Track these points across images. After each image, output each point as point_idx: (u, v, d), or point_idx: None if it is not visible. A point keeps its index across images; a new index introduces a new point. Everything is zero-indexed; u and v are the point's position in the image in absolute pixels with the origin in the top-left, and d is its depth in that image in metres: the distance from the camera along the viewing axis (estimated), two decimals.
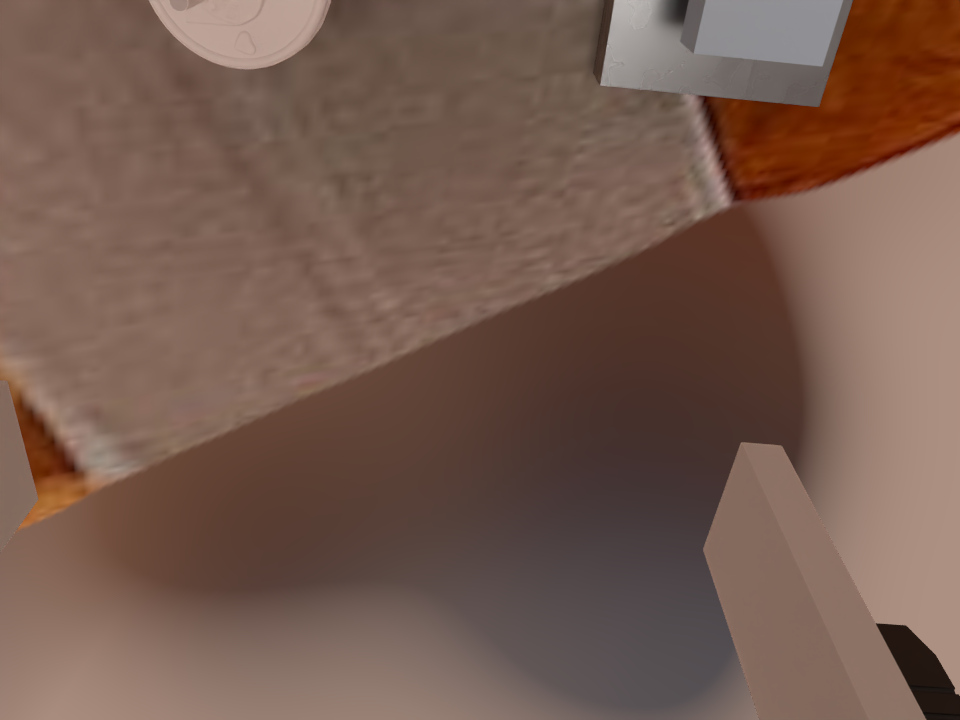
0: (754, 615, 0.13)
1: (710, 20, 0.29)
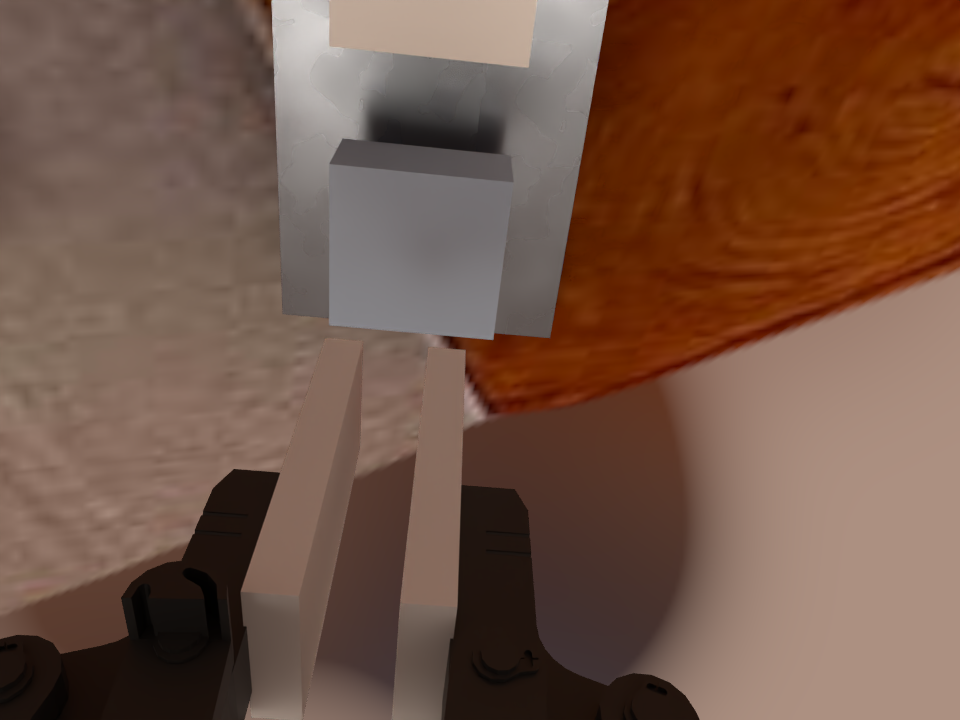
0: None
1: (340, 291, 0.23)
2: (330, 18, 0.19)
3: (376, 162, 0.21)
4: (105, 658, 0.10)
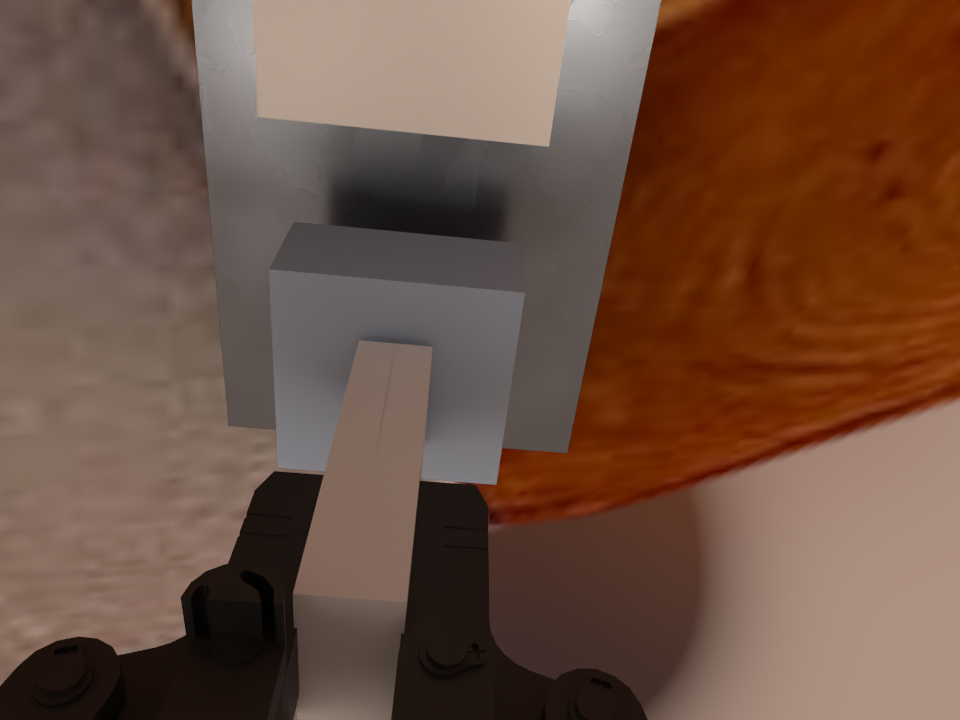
0: None
1: (291, 427, 0.17)
2: (257, 77, 0.13)
3: (335, 263, 0.16)
4: (159, 660, 0.10)
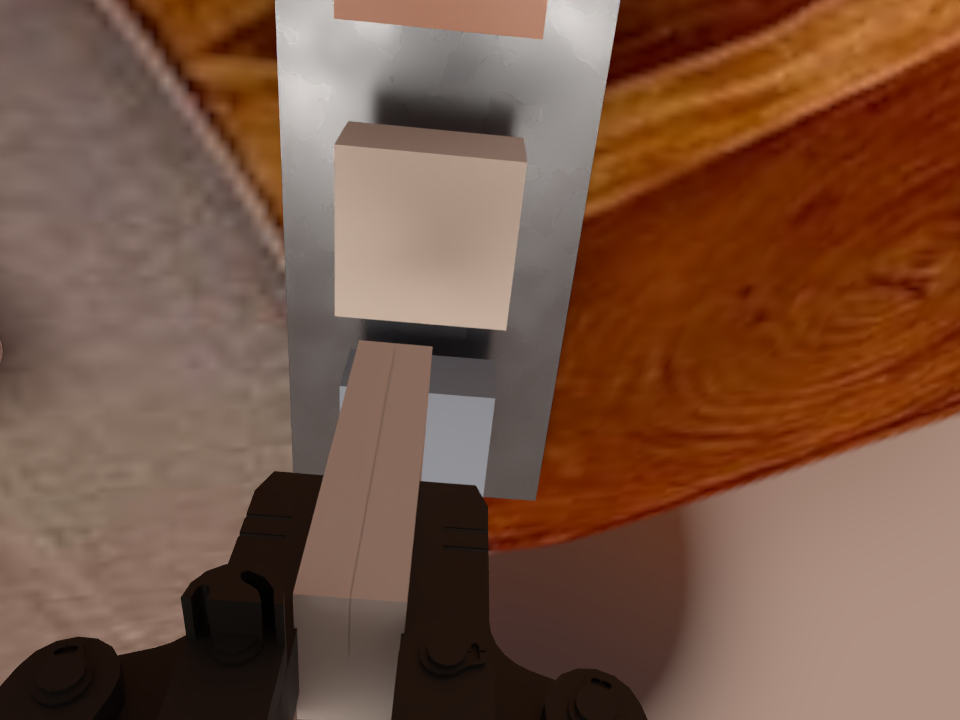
0: None
1: None
2: (335, 296, 0.22)
3: None
4: (159, 660, 0.10)
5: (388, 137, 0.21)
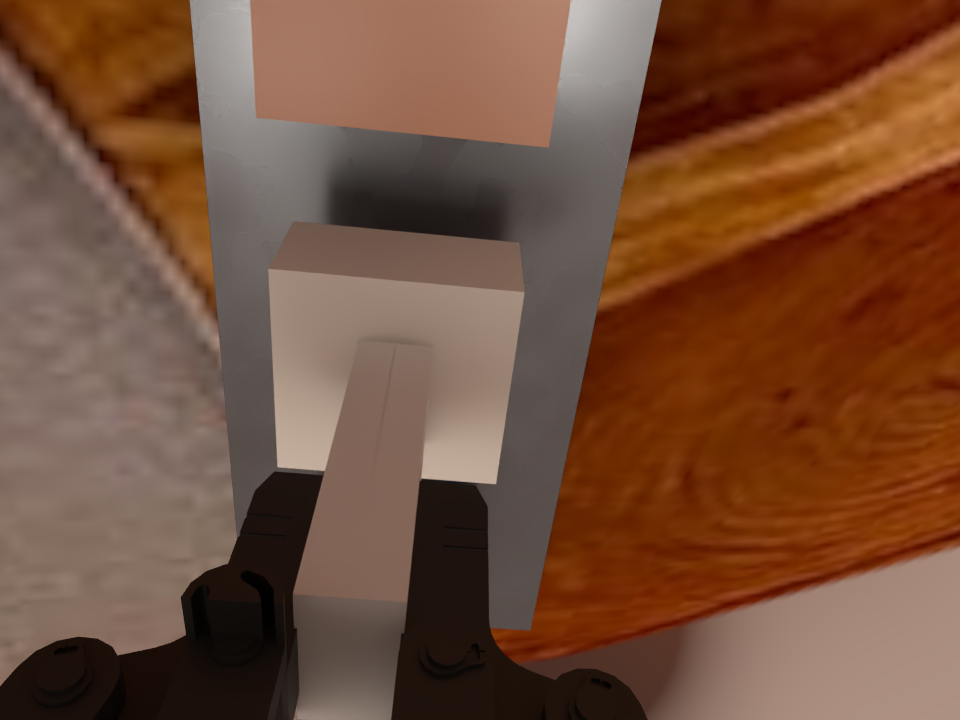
0: None
1: None
2: (277, 445, 0.17)
3: None
4: (159, 660, 0.10)
5: (343, 250, 0.16)
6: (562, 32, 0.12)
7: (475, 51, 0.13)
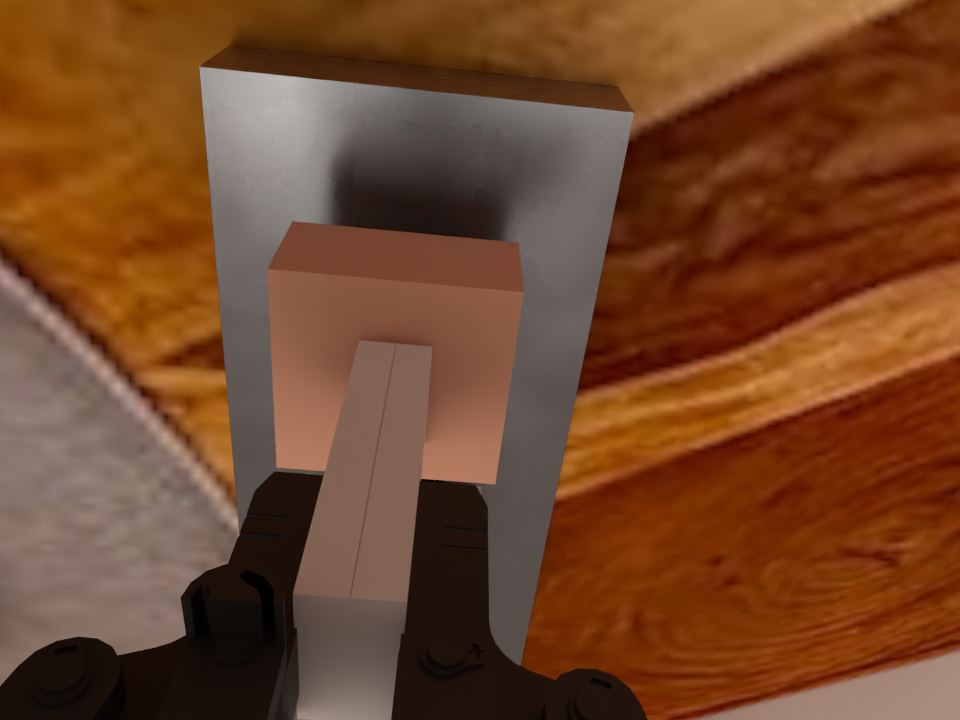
0: None
1: None
2: None
3: None
4: (159, 660, 0.10)
5: None
6: (502, 419, 0.17)
7: (438, 430, 0.17)
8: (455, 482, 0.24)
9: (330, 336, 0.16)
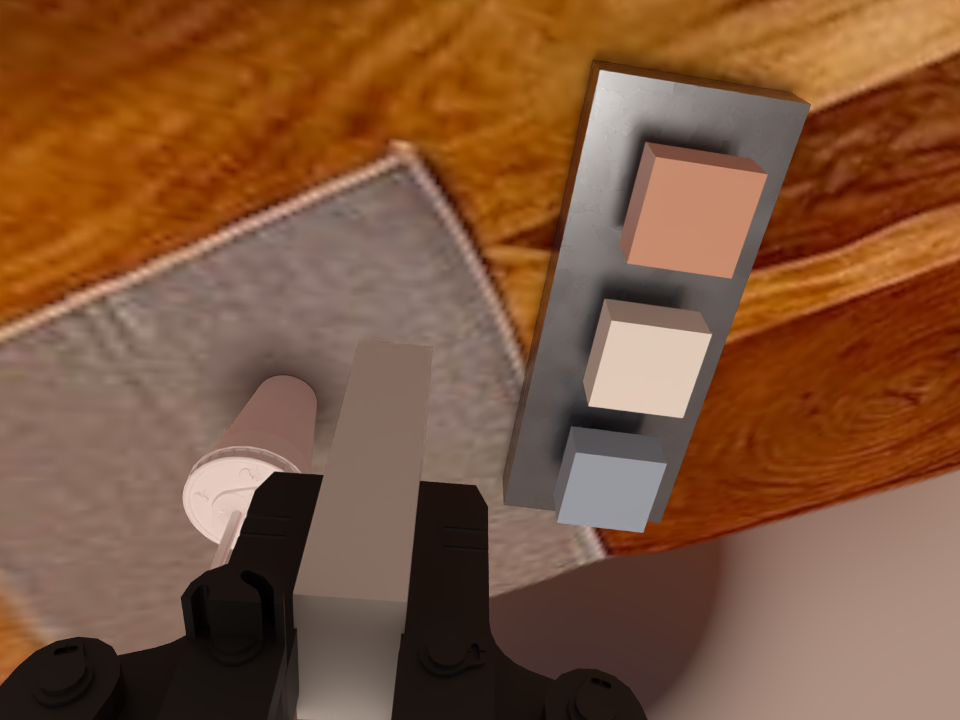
0: None
1: (567, 507, 0.43)
2: (591, 395, 0.40)
3: (596, 449, 0.42)
4: (159, 660, 0.10)
5: (633, 313, 0.38)
6: (743, 241, 0.35)
7: (711, 246, 0.35)
8: None
9: (674, 192, 0.34)
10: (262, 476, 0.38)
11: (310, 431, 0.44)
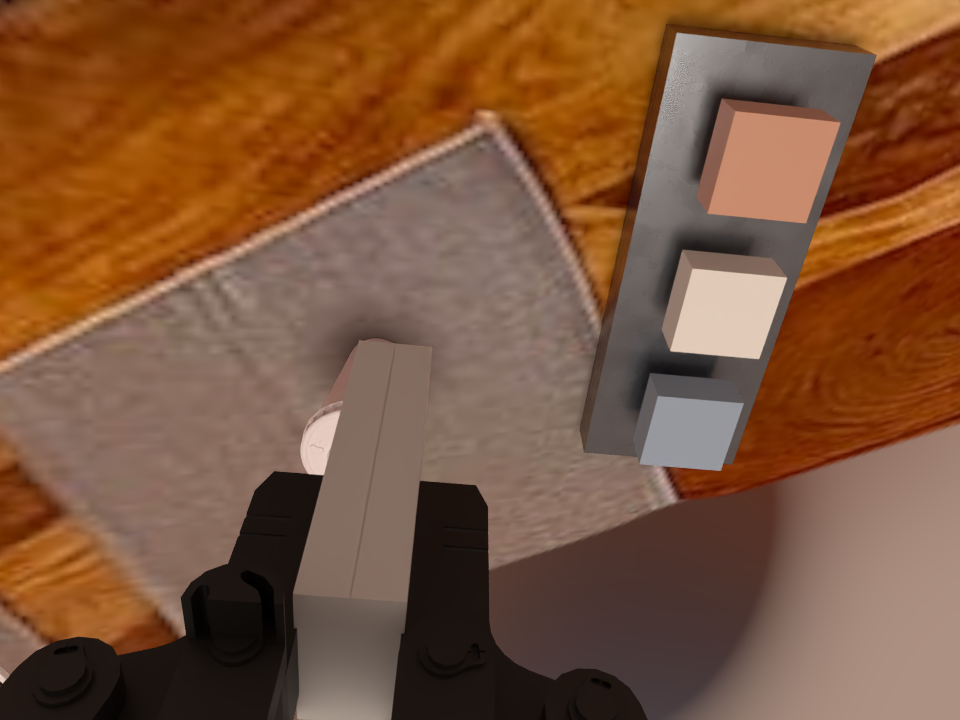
0: None
1: (649, 449, 0.46)
2: (673, 341, 0.42)
3: (676, 392, 0.45)
4: (159, 660, 0.10)
5: (711, 261, 0.41)
6: (817, 187, 0.38)
7: (787, 193, 0.38)
8: None
9: (752, 144, 0.37)
10: None
11: None
